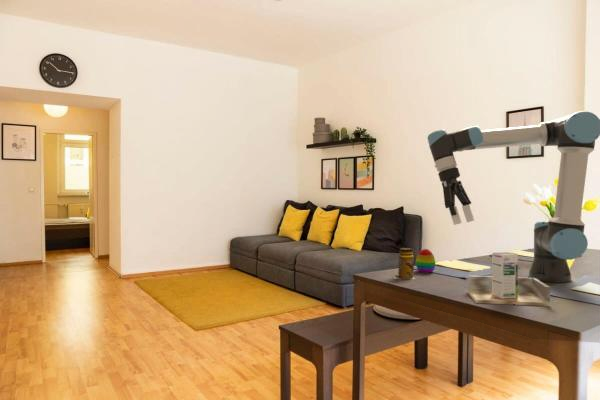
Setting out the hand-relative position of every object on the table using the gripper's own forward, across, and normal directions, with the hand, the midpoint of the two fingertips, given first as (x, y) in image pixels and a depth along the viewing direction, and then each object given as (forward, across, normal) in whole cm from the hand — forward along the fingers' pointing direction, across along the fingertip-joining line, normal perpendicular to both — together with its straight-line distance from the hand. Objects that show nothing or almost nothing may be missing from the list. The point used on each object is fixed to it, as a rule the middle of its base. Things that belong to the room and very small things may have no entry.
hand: (464, 222), depth 169 cm
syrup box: (+27, +14, +10) cm, 32 cm away
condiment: (+15, +2, -30) cm, 34 cm away
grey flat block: (+28, +12, +10) cm, 32 cm away
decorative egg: (+16, -15, -28) cm, 36 cm away
